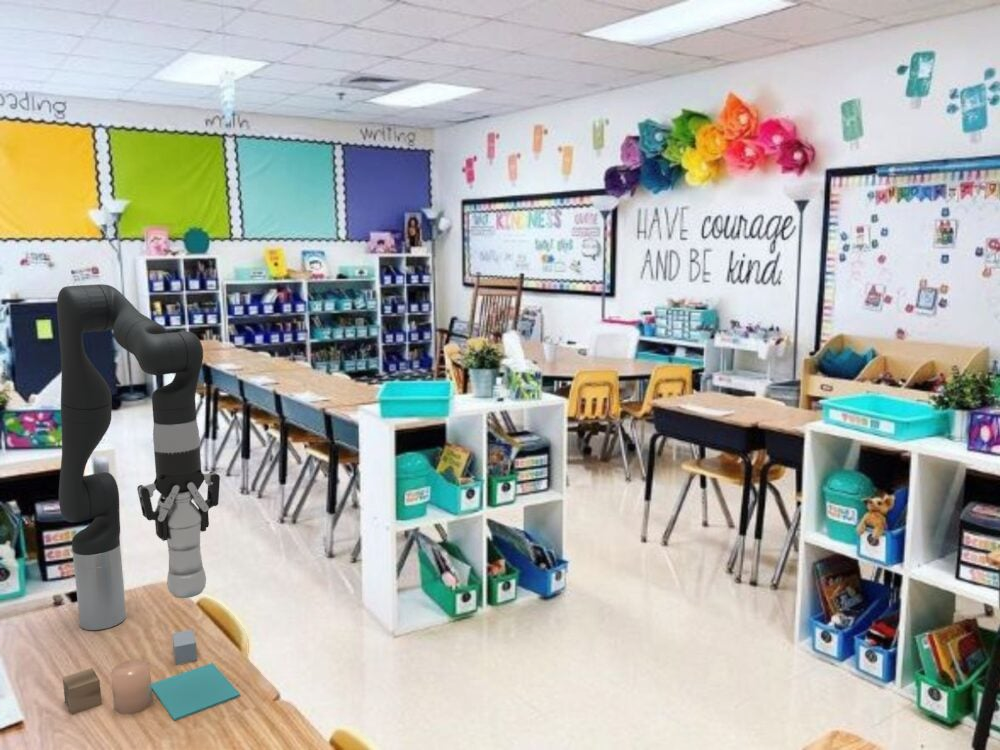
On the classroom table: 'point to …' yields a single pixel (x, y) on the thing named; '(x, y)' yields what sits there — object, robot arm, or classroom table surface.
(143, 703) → the beige domed cylinder
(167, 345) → the robot arm
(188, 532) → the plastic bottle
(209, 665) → the teal mat
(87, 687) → the walnut block
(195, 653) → the slate grey box
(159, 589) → the classroom table surface
